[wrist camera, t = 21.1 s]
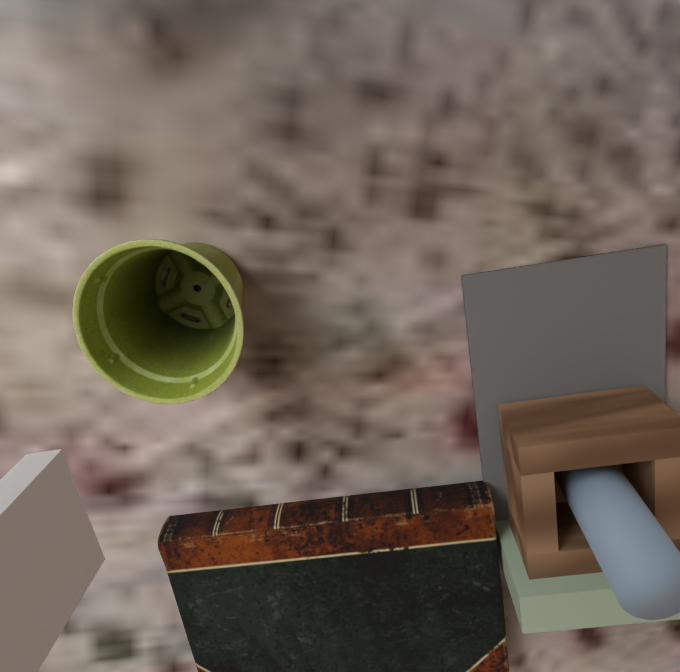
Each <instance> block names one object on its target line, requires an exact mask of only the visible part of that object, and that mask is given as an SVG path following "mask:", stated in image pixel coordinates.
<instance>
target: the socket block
mask: <svg viewBox="0 0 680 672" xmlns="http://www.w3.org/2000/svg"><path fill="white" fill-rule="evenodd" d="M498 413H499V423H500V434H501V445H502V456H503V467H504V478H505V488H506V499H507V510H508V521H509V525H510V528H511V530H512V533H513V536H514V539H515V541H516V544H517V547H518V550H519V552H520V555H521V558H522V561H523V564H524V566H525V569H526V572H527V575H528V577H529V580H531V579H541V578H551V577H561V576H570V575H580V574H590V573H600V572H603V571H602V569H601V567H600V565H599V563H598V561H597V559H596V557H595V555H594V553H593V551H592V549H591V547H590V545H589V543H588V542H587V540H586V538H585V536H584V534H583V532H582V530H581V528H580V526H579V524H578V522H577V520H576V518H575V516H574V514H573V512H572V510H571V508H570V506H569V504H568V502H567V500H566V498H565V496H564V494H563V492H562V490H561V488H560V486H559V485H558V483H557V481H556V479H555V477H554V472H558V471H567V470H575V469H584V468H592V467H600V466H609V465H618V466H619V468H620V469H621V471H622V472H623V473H624V475H625V476H626V478H627V479H628V480H629V482H630V483H631V485H632V486H633V487H634V489H635V490H636V492H637V493H638V494H639V496H640V497H641V499H642V500H643V501H644V503H645V504H646V506H647V507H648V508H649V510H650V511H651V513H652V514H653V515H654V517H655V518H656V520H657V521H658V522H659V524H660V525H661V527H662V528H663V529H664V531H665V532H666V534H667V535H668V536H669V538H670V539H671V541H672V542H673V543H674V545H675V546H676V548H677V549H678V550H679V552H680V416H678V415H677V414H676V413H675V412H674V411H673V410H672V409H671V408H670V407H669V406H667V405H666V404H665V403H664V402H663V401H662V400H661V399H660V398H659V397H657V396H656V395H655V394H654V393H653V392H652V391H651V390H650V389H649V388H648V387H646V386H645V385H641V386H633V387H626V388H618V389H611V390H603V391H595V392H588V393H580V394H573V395H565V396H557V397H550V398H542V399H535V400H527V401H519V402H512V403H504V404H498Z"/></svg>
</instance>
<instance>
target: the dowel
mask: <svg viewBox="0 0 680 672" xmlns="http://www.w3.org/2000/svg"><path fill="white" fill-rule="evenodd" d="M554 477H555V479H556V481H557V483H558V485H559V486H560V488H561V490H562V492H563V494H564V496H565V498H566V500H567V502H568V504H569V506H570V508H571V510H572V512H573V514H574V516H575V518H576V520H577V522H578V524H579V526H580V528H581V530H582V532H583V534H584V536H585V538H586V540H587V542H588V543H589V545H590V547H591V549H592V551H593V553H594V555H595V557H596V559H597V561H598V563H599V565H600V567H601V569H602V571H603V573H604V575H605V577H606V579H607V581H608V583H609V585H610V587H611V589H612V591H613V593H614V595H615V597H616V599H617V600H618V602H619V604H620V606H621V607H622V608H623V609H624V610H625V611H626V612H627V613H629V614H630V615H632V616H635V617H637V618H641V619H647V620H658V619H664V618H668V617H671V616H673V615H675V614H678V613H679V612H680V552H679V550H678V549H677V548H676V546H675V545H674V543H673V542H672V541H671V539H670V538H669V536H668V535H667V534H666V532H665V531H664V529H663V528H662V527H661V525H660V524H659V522H658V521H657V520H656V518H655V517H654V515H653V514H652V513H651V511H650V510H649V508H648V507H647V506H646V504H645V503H644V501H643V500H642V499H641V497H640V496H639V494H638V493H637V492H636V490H635V489H634V487H633V486H632V485H631V483H630V482H629V480H628V479H627V478H626V476H625V475H624V473H623V472H622V471H621V469H620V468H619V466H618V465H609V466H600V467H592V468H584V469H575V470H567V471H558V472H554Z"/></svg>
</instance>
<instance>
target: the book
mask: <svg viewBox="0 0 680 672" xmlns="http://www.w3.org/2000/svg"><path fill="white" fill-rule="evenodd" d="M158 549H159V551H160V554H161V556H162V559H163V561H164V564H165V567H166V570H167V573H168V576H169V579H170V583H171V586H172V589H173V592H174V596H175V599H176V602H177V605H178V608H179V612H180V615H181V618H182V621H183V625H184V628H185V631H186V634H187V637H188V641H189V644H190V647H191V650H192V653H193V657H194V660H195V663H196V666H197V669H198V672H509V665H508V653H507V642H506V631H505V620H504V609H503V598H502V588H501V578H500V567H499V557H498V547H497V537H496V524H495V510H494V506H493V503H492V497H491V493H490V489H489V486H488V484H487V482H483V481H476V482H468V483H459V484H451V485H442V486H432V487H423V488H414V489H405V490H396V491H387V492H378V493H369V494H360V495H351V496H343V497H334V498H325V499H316V500H307V501H298V502H290V503H281V504H272V505H263V506H254V507H246V508H237V509H228V510H219V511H211V512H202V513H193V514H185V515H176V516H169V517H168V518H167V519H166V521H165V523H164V524H163V527H162V529H161V532H160V535H159V537H158Z"/></svg>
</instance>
